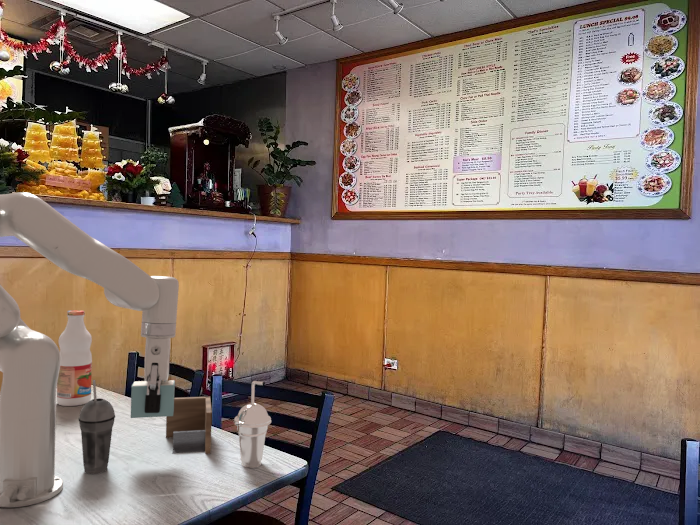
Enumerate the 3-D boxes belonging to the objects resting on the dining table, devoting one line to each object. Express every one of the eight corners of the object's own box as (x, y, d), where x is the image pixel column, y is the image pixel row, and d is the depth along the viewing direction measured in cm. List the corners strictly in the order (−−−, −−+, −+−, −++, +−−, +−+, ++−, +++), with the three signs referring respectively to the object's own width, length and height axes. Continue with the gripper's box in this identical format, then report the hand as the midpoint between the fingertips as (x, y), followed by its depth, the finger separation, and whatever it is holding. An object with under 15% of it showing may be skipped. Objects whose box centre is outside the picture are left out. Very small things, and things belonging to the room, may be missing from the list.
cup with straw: (269, 456, 130) (272, 372, 129) (270, 472, 121) (273, 382, 120) (233, 457, 128) (235, 372, 128) (231, 473, 119) (233, 382, 119)
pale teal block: (173, 416, 124) (173, 384, 124) (130, 418, 122) (131, 385, 122) (173, 410, 129) (174, 379, 129) (133, 411, 126) (133, 381, 126)
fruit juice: (61, 398, 171) (63, 309, 170) (94, 397, 173) (96, 309, 172) (52, 407, 161) (54, 312, 161) (87, 406, 164) (89, 313, 163)
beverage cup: (121, 466, 121) (123, 376, 120) (98, 479, 114) (100, 384, 113) (93, 462, 123) (95, 373, 122) (69, 474, 116) (71, 380, 115)
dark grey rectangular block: (205, 451, 131) (205, 435, 131) (172, 454, 129) (172, 437, 129) (204, 445, 135) (205, 429, 135) (173, 447, 133) (173, 431, 133)
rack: (210, 454, 130) (211, 412, 129) (162, 457, 127) (164, 414, 127) (209, 434, 143) (210, 396, 143) (166, 436, 140) (167, 398, 140)
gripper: (174, 335, 118) (168, 419, 118) (176, 325, 135) (171, 399, 135) (137, 334, 116) (131, 420, 116) (144, 324, 133) (139, 399, 132)
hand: (153, 408), depth 125 cm, fingers closed on pale teal block, 5 cm apart
